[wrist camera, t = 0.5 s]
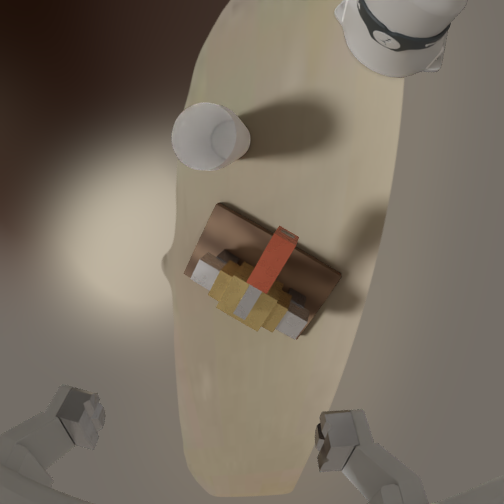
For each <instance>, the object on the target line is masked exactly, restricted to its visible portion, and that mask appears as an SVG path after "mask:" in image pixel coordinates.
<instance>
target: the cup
mask: <svg viewBox="0 0 504 504" xmlns="http://www.w3.org/2000/svg"><path fill="white" fill-rule="evenodd" d="M171 138H172V146H173V150H174V152H175V154H176V156H177V157H178V159H179V160H180V161H181V162H182V163H183V164H185V165H186V166H188V167H190V168H192V169H196V170H218V169H221V168H224V167H226V166H228V165H229V164H231V163H233V162H234V161H236V160H237V159H239V158H240V157H242V156H243V155H244V154H245V153H246V152H247V150H248V148H249V146H250V140H251V139H250V133H249V131H248V129H247V127H246V126H245V125H244V124H243V122H242V121H241V120H240V119H239V117H238V116H237V115H236V114H235V113H234V112H233V111H231V110H230V109H228V108H227V107H224V106H222V105H217V104H213V103H198V104H194V105H192V106H190V107H188V108H187V109H185V110H184V111H183V112H182V113H181V114H180V115H179V117H178V118H177V120H176V121H175V124H174V126H173V130H172V137H171Z"/></svg>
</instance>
